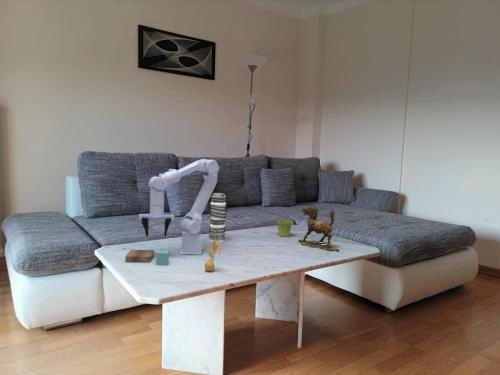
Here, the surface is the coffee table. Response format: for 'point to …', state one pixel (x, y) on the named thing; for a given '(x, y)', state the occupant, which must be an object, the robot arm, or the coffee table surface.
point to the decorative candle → (217, 217)
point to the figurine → (318, 229)
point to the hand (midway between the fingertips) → (156, 235)
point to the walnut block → (139, 256)
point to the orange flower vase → (209, 264)
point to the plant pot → (284, 227)
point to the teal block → (162, 257)
